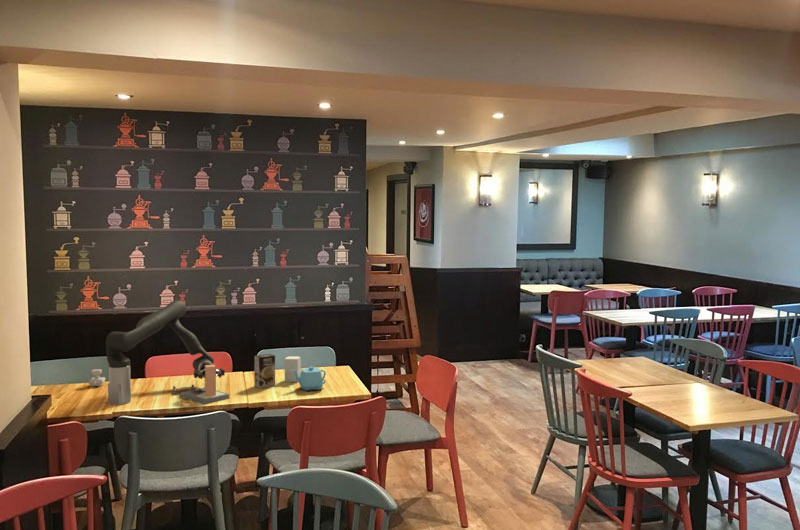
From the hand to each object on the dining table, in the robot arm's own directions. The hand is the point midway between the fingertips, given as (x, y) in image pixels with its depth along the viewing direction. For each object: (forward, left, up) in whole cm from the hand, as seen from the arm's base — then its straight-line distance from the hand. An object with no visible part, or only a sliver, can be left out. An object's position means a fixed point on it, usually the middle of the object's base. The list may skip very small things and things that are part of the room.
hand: (210, 376), depth 308 cm
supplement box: (+47, -21, -12) cm, 53 cm away
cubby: (+11, +22, -11) cm, 27 cm away
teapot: (+33, -36, -12) cm, 50 cm away
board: (+3, +5, -11) cm, 13 cm away
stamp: (+8, +71, -12) cm, 72 cm away
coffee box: (+32, -12, -12) cm, 36 cm away
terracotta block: (+1, +1, -9) cm, 9 cm away
